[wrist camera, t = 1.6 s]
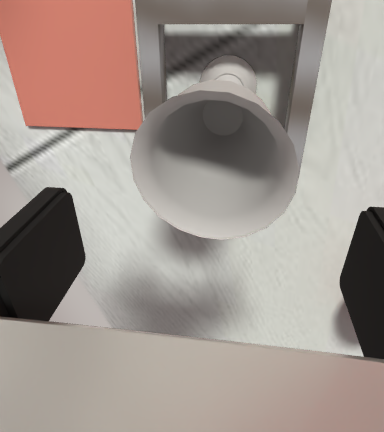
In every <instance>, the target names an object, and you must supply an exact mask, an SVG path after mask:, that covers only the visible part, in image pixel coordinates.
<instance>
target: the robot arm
mask: <svg viewBox="0 0 384 432" xmlns="http://www.w3.org/2000/svg"><path fill="white" fill-rule="evenodd" d="M84 263H85V252H84V247H83V243H82V238H81V234H80V229H79V225H78V221H77V216H76V212H75V207H74V203H73V198H72V195H71V194H70V193H67V191H66V189H64V188H52V187H46V188H45V189H44V190H42V191H41V192H40V193H39V194H38V195H37V196H36V197H35V198H33V199H32V200H31V201H30V202H29V203H28V204H27V205H26V206H25V207H23V208H22V209H21V210H20V211H19V212H18V213H17V214H16V215H14V216H13V217H12V218H11V219H10V220H9V221H8V222H7V223H6V224H5V225H3V226H2V227H1V228H0V432H384V208H382V207H369V208H368V209H367V211H362V212H361V213H360V216H359V219H358V222H357V225H356V228H355V231H354V235H353V238H352V241H351V244H350V247H349V251H348V254H347V257H346V260H345V263H344V267H343V270H342V273H341V276H340V288H341V291H342V294H343V297H344V300H345V303H346V306H347V309H348V312H349V314H350V317H351V320H352V323H353V326H354V329H355V332H356V335H357V338H358V340H359V343H360V346H361V349H362V352H363V355H364V357H361V356H352V355H344V354H336V353H329V352H320V351H312V350H303V349H294V348H286V347H277V346H268V345H260V344H251V343H243V342H234V341H225V340H216V339H207V338H198V337H189V336H180V335H171V334H162V333H153V332H144V331H135V330H125V329H116V328H106V327H97V326H87V325H78V324H68V323H59V322H49V320H50V318H51V316H52V315H53V313H54V312H55V310H56V309H57V307H58V305H59V304H60V302H61V301H62V299H63V297H64V296H65V294H66V293H67V291H68V289H69V288H70V286H71V285H72V283H73V281H74V280H75V278H76V277H77V275H78V274H79V272H80V270H81V269H82V267H83V265H84Z"/></svg>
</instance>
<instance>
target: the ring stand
mask: <svg viewBox="0 0 384 432" xmlns="http://www.w3.org/2000/svg"><path fill="white" fill-rule="evenodd" d="M331 2H332V0H135V5H136V17H137V29H138V41H139V53H140V65H141V77H142V89H143V101H144V113H145V118H146V117H147V115H148V114H149V112H151V111H152V110H154V109H155V108H157V107H158V106H160V105H161V104H162V103H164V102H165V101H167V88H166V66H165V44H164V24H300V25H299V32H298V38H297V45H296V52H295V59H294V65H293V72H292V79H291V86H290V92H289V99H288V106H287V113H286V119H285V126H284V130H285V131H286V133H287V134H288V136H289V137H290V139H291V141H292V142H293V144H294V147H295V152H296V156H297V161H298V165H299V173H300V168H301V162H302V157H303V152H304V146H305V141H306V136H307V130H308V125H309V120H310V114H311V109H312V104H313V98H314V93H315V88H316V82H317V77H318V72H319V66H320V61H321V56H322V50H323V45H324V40H325V34H326V29H327V24H328V18H329V13H330V8H331ZM298 178H299V175H298Z"/></svg>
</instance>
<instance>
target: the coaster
mask: <svg viewBox="0 0 384 432" xmlns="http://www.w3.org/2000/svg"><path fill="white" fill-rule="evenodd" d="M0 36H1V39H2V43H3V46H4V50H5V54H6V57H7V61H8V64H9V68H10V71H11V75H12V78H13V82H14V85H15V89H16V93H17V96H18V100H19V103H20V107H21V110H22V114H23V117H24V121H25V124H26V126H49V127H77V128H105V129H133V130H138V128H139V127H140V125H141V124H142V123H143V116H142V105H141V93H140V82H139V70H138V59H137V47H136V36H135V24H134V13H133V1H132V0H0Z"/></svg>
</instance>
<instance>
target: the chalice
mask: <svg viewBox="0 0 384 432" xmlns="http://www.w3.org/2000/svg"><path fill="white" fill-rule="evenodd" d="M256 88H257V80H256V76H255V73H254V71H253V69H252V67H251V66H250V65H249V64H248V63H247V62H246V61H245V60H244V59H242V58H239V57H236V56H228V55H225V56H221V57H218V58H216V59H214V60H213V61H212V62H210V63H209V64H208V65H207V66H206V68H205V69H204V71H203V72H202V75H201V78H200V83H197V84H193V85H192V86H191V87H189V88H188V89H186V90H185V91H183V92H182V93H180V94H179V95H178V96H174V97H171V98H170V99H168V100H167V101H165V102H164V103H162V104H161V105H160V106H158V107H157V108H155V109H154V110H152V111H151V112H149V114H148V115H147V117H146V118H145V120H144V121H143V123H142V124H141V125H140V127H139V128H138V130H137V131H136V133H135V137H134V141H133V146H132V150H131V155H130V159H131V166H132V173H133V179H134V182H135V184H136V186H137V188H138V190H139V192H140V194H141V196H142V198H143V200H144V201H145V202H146V203H147V204H148V205H149V206H150V207H151V209H152V210H153V211H154V212H155V213H156V214H157V215H158V216H159V217H160V218H162V219H163V220H165V221H166V222H168V223H169V224H171V225H172V226H174V227H175V228H177V229H178V230H181V231H184V232H187V233H190V234H192V235H195V236H198V237H202V238H211V239H220V240H225V239H232V238H240V237H246V236H249V235H251V234H253V233H256V232H258V231H260V230H263V229H265V228H267V227H268V226H269V225H271V224H272V223H273V222H274V221H275V220H276V219H278V218H279V217H280V216H281V215H282V214H283V213H284V212H285V211H286V209H287V207H288V205H289V204H290V202H291V200H292V198H293V197H294V195H295V193H296V188H297V181H298V175H299V165H298V161H297V156H296V152H295V147H294V144H293V142H292V141H291V139H290V137H289V136H288V134H287V133H286V131H285V130H284V128H283V126H282V125H281V123H280V122H279V121H278V120H277V119H276V118H274V117H273V116H272V114H271V113H270V111H269V110H268V108H267V106H266V105H265V103H264V102H263V100H262V99H261V98H259V97H258V96H257V95H256Z"/></svg>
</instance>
